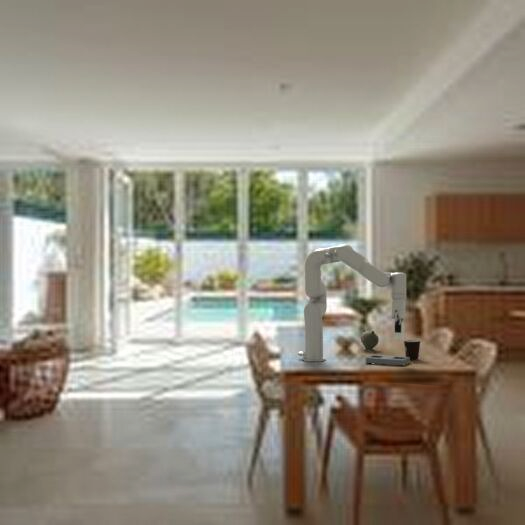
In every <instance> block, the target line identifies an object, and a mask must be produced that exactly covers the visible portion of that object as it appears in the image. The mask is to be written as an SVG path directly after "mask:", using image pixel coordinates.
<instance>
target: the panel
mask: <svg viewBox="0 0 525 525" xmlns="http://www.w3.org/2000/svg"><path fill="white" fill-rule="evenodd" d="M409 362H410V363H411V360H410V357H406V356H400V355H385V354H371V355H369V356H367V357H366V358H365V364H366V363H374V364H373V365H379V364H389V365H388V366H395V365H404V364H406V365H408V364H409ZM407 363H408V364H407ZM404 366H405V365H404Z"/></svg>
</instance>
